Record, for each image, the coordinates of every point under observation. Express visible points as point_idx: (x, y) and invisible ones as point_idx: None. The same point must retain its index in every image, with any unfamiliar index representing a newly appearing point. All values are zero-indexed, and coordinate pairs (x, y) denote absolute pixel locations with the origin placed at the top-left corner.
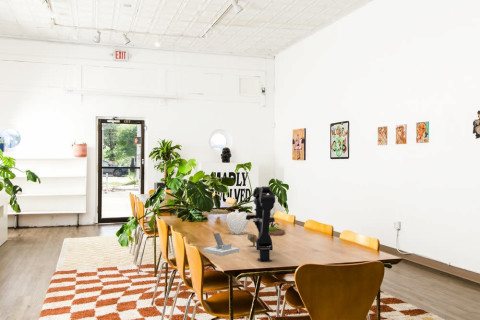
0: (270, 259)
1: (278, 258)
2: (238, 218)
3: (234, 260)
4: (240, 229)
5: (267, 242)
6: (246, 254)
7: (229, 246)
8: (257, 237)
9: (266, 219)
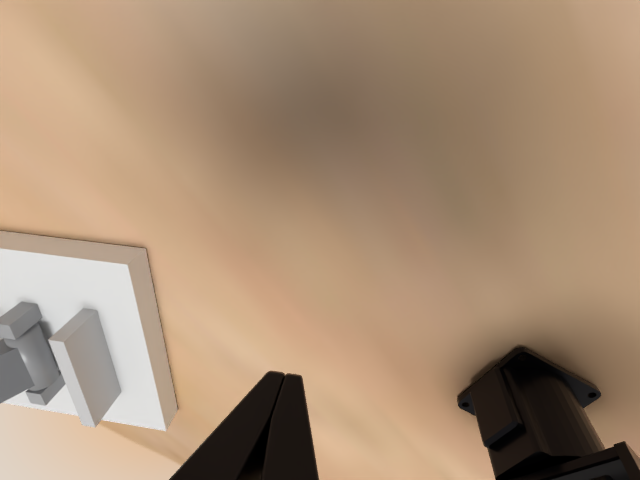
0: (580, 382)
1: (633, 275)
2: None
3: (331, 464)
4: None
5: None
6: (274, 302)
7: (87, 348)
8: None
9: None
